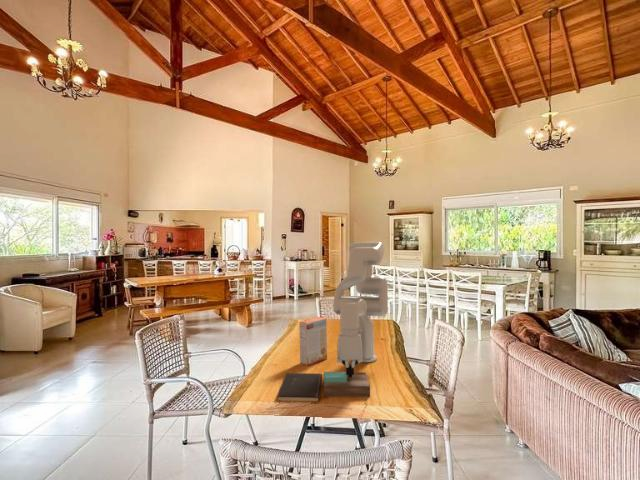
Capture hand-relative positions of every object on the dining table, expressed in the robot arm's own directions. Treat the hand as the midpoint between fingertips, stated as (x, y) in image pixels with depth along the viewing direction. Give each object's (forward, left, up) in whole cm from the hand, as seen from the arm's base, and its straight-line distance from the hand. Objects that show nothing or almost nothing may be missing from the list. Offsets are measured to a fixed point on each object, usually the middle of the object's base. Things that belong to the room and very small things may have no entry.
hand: (349, 376), depth 144 cm
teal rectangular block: (0, -6, -1) cm, 6 cm away
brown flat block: (0, -2, -5) cm, 5 cm away
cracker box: (-33, -16, -5) cm, 37 cm away
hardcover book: (-1, -20, -6) cm, 21 cm away
